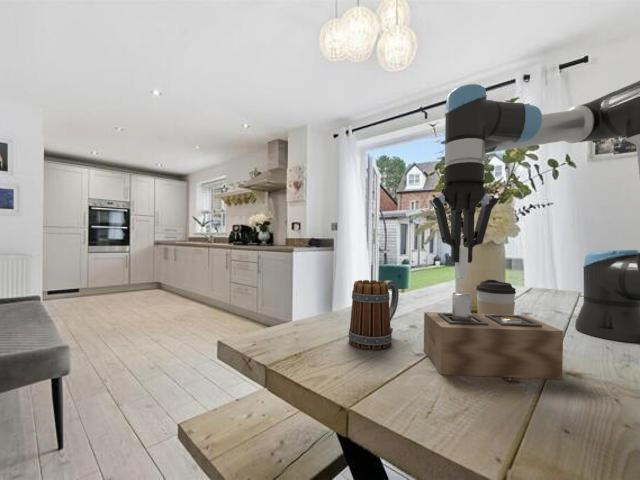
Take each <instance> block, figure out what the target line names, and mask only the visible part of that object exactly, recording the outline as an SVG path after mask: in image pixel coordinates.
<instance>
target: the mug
mask: <svg viewBox="0 0 640 480" xmlns="http://www.w3.org/2000/svg"><path fill="white" fill-rule="evenodd" d="M389 287H390V290H391V300H390V292H389ZM399 292H400V291H399V287H398V285H397V283H396V282H395V281H393V280H384V281H382V280H374V279H372V280H369V279H363V280H361V279H359V280H355V281H354V283H353V289H352V291H351V299H352V300H351V301H352V302H351V314H350V323H349V329H348V342H349V343H350V344H351V345H352V346H354V347H356V348H357V349H360V350H361V349H362V350H365V351H379V350H380V351H381V350H385V349H387V348H389V347H391V345H392V340H393V337H392V336H393V335H392V334H393V331H394V328H393V327H391V322H392V319H393V317H394V315H395V314H396V311H397V308H398V303H399V298H400V297H399V295H400V293H399Z"/></svg>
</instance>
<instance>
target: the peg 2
mask: <svg viewBox="0 0 640 480" xmlns="http://www.w3.org/2000/svg"><path fill="white" fill-rule="evenodd" d="M501 321H502V322H504V323H522V320H521V319H519V318H515V317H501Z"/></svg>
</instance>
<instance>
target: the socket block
mask: <svg viewBox="0 0 640 480" xmlns="http://www.w3.org/2000/svg"><path fill="white" fill-rule="evenodd" d="M423 316H424V318H423V322H424V323H423V325H424V326H423V353H425V355H426V356H427V357H428V359H429V360H430V362H431V364H432V365H433V366H434V367H435V369H436V370H437V371H438V373H439V374H440V375H447V376H470V377H471V376H472V377H473V376H474V377H490V378H491V377H493V378H494V377H497V378H517V379H519V378H520V379H538V380H539V379H540V380H541V379H542V380H563V361H564V360H563V358H564V355H563V353H564V352H563V349H564V330H562V329H559V328H557V327H554V326H552V325H549V324H547V323H545V322H543V321H540V320H537V319H535V318H533V317H531V316H528V315H525V314H514V315H509V314H478V313H472V312H471V322H462V321H452V312H439V311H438V312H434V311H433V312H432V311H431V312H430V311H424V312H423ZM501 317H515V318H519V319H521V320H522V323H504V322H502V321H501Z"/></svg>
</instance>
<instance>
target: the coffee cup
mask: <svg viewBox="0 0 640 480" xmlns="http://www.w3.org/2000/svg"><path fill="white" fill-rule="evenodd" d="M475 290H476V296H477V298H476V308H477V309H476V310H477V314H509V315H515V306H516V302H515V298H516V297H515V296H516V294H517V291H516V288H515V287H513V286H512V284H511V283H509V282H504V281H499V280H496V279H486V280H482V281H481V282H480V283H479V284H476V289H475Z"/></svg>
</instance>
